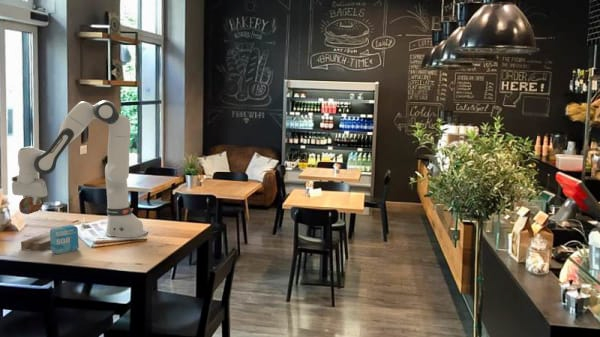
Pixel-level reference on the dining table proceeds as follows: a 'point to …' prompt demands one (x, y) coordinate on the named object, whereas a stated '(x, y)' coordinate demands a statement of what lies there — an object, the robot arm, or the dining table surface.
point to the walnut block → (37, 242)
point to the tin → (30, 205)
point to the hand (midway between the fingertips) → (30, 204)
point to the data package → (64, 239)
